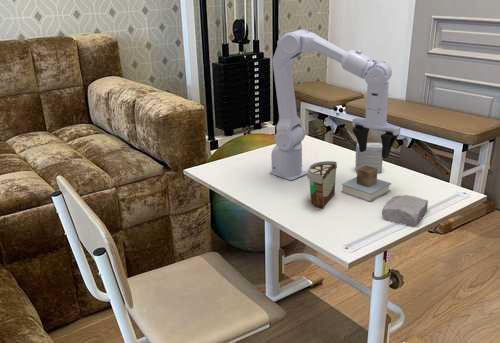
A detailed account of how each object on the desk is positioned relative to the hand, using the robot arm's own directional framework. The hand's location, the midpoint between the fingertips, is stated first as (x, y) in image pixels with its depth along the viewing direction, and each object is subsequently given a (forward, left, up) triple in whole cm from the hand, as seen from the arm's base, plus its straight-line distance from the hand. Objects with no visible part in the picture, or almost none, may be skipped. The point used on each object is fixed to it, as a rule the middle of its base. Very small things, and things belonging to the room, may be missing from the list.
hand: (373, 154), depth 141 cm
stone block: (+16, -9, -11) cm, 21 cm away
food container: (-6, -17, -11) cm, 21 cm away
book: (0, -4, -10) cm, 11 cm away
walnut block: (0, -3, -8) cm, 9 cm away
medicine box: (-9, +10, -11) cm, 17 cm away
